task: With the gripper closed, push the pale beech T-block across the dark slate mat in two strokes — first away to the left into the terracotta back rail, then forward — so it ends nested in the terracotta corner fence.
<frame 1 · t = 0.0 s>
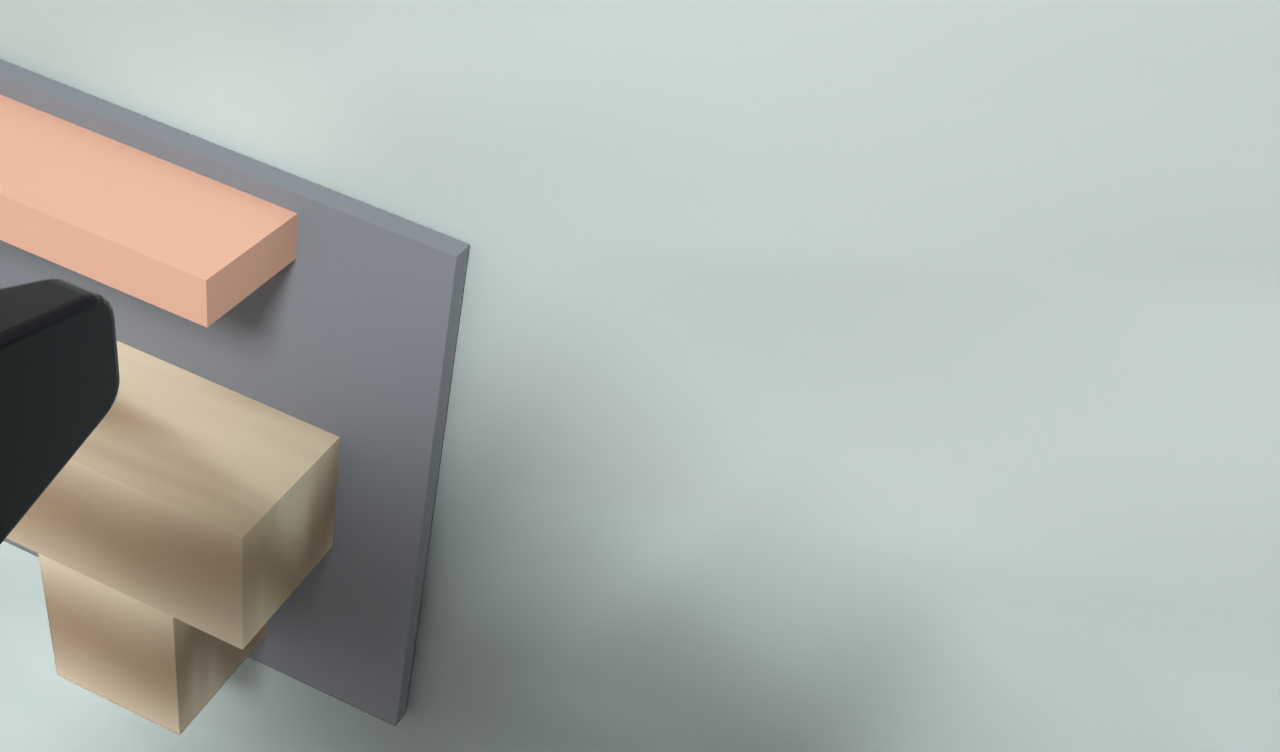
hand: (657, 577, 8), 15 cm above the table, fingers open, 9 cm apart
t block: (206, 489, 33), point 1 cm above the table, touching slate mat
slate mat: (124, 381, 33), on the table
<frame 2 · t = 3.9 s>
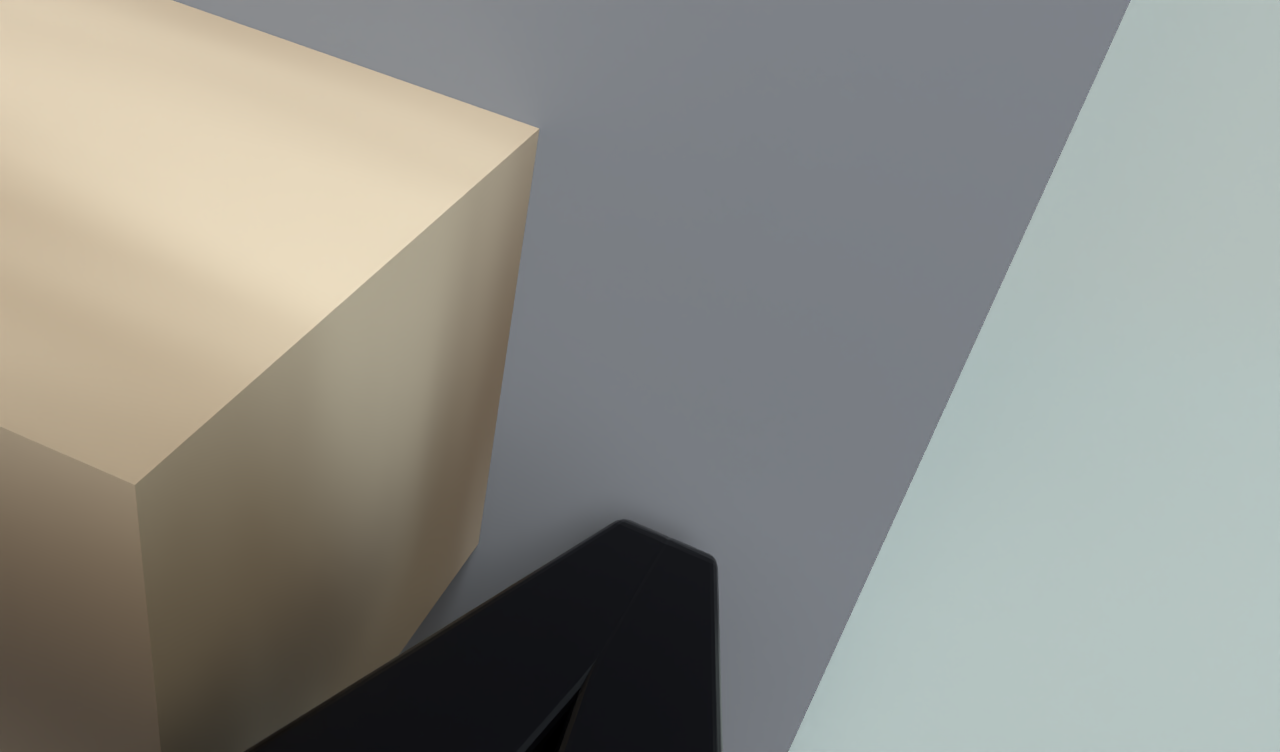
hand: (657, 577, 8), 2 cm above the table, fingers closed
t block: (91, 380, 11), point 1 cm above the table, touching gripper
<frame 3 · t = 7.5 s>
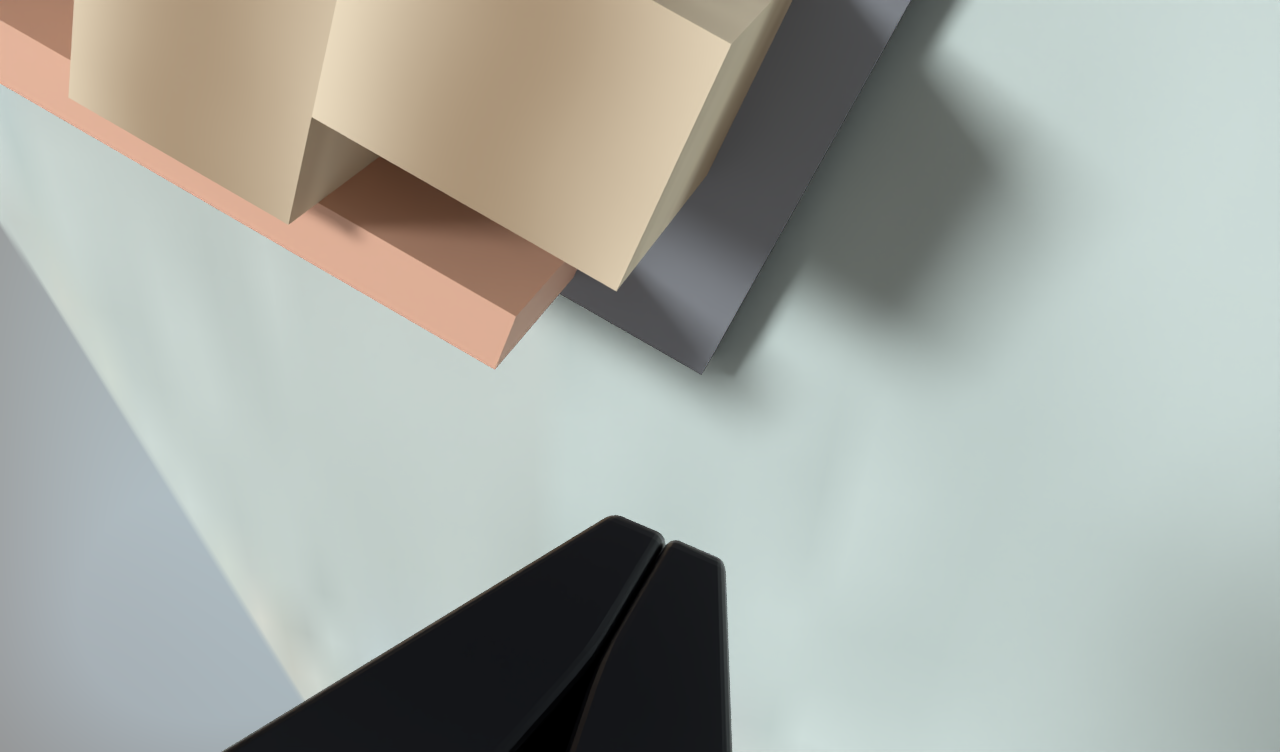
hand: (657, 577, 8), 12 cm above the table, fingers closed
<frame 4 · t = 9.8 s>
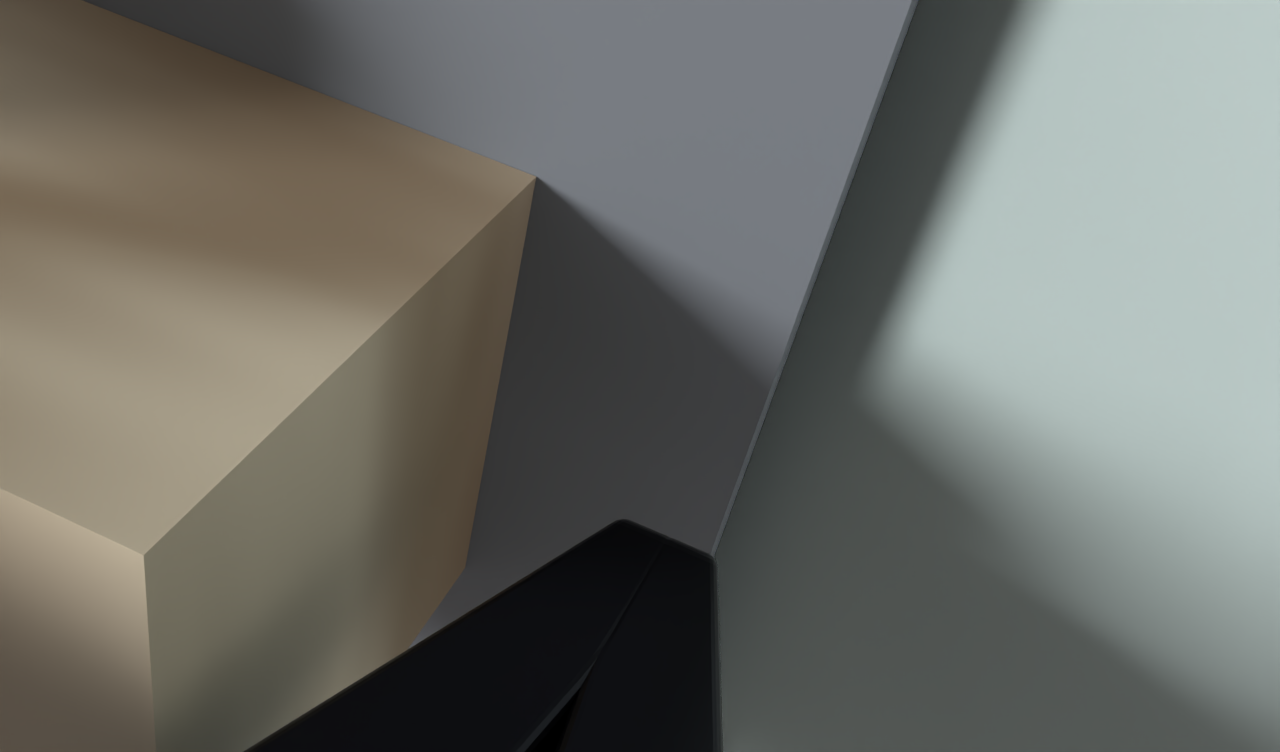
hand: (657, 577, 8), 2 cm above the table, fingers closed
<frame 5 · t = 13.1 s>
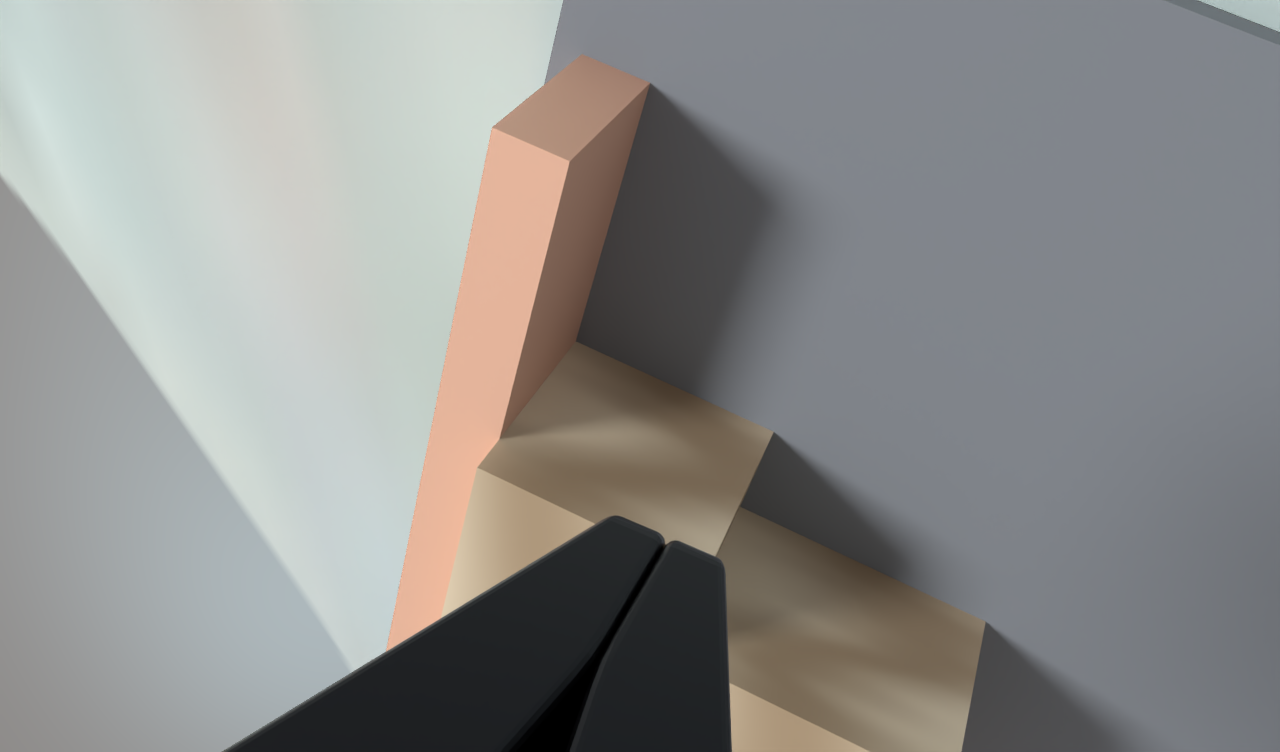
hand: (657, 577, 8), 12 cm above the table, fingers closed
t block: (709, 573, 24), point 1 cm above the table, touching slate mat
corner fence: (497, 612, 27), resting on slate mat
slate mat: (917, 487, 22), on the table
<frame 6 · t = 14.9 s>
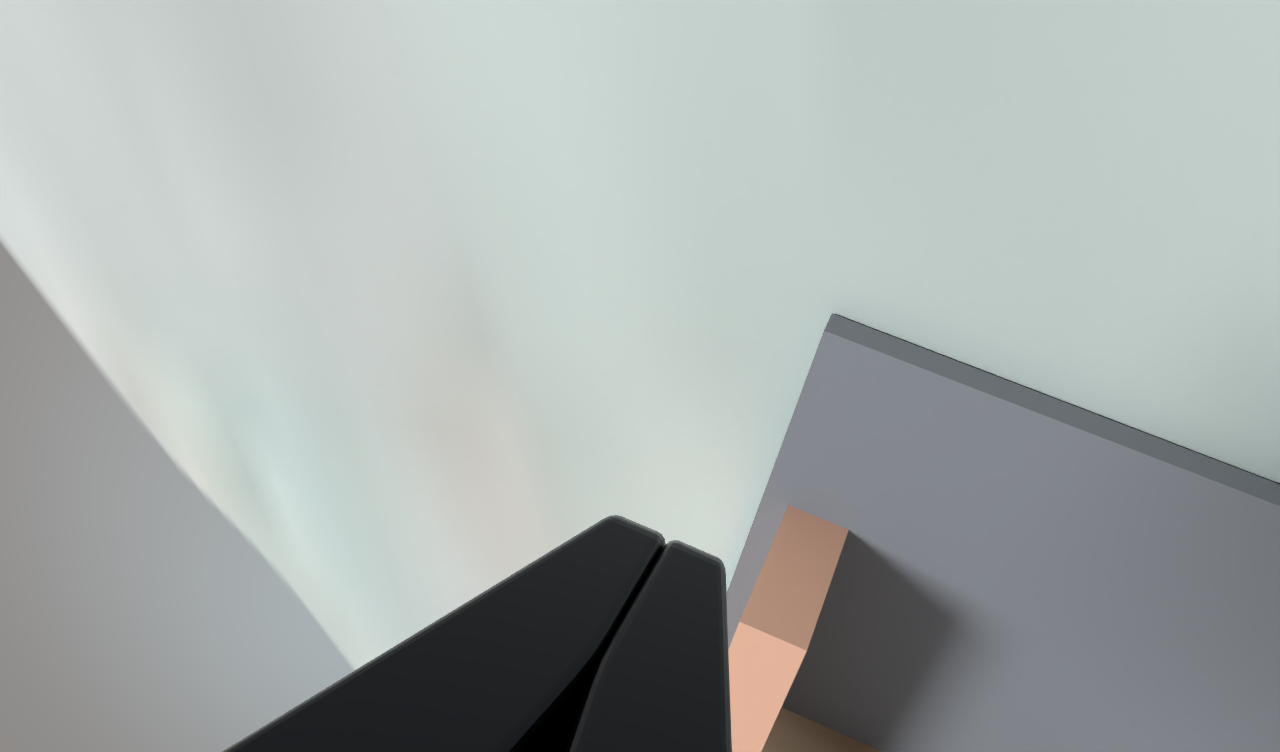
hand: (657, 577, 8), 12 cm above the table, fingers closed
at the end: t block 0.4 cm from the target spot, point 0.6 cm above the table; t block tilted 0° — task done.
